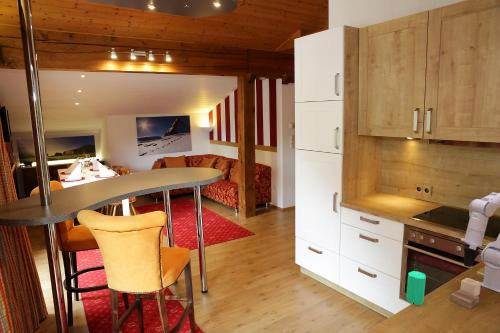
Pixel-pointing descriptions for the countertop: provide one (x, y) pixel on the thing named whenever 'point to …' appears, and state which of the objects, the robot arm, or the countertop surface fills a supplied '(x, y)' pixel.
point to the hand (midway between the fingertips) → (466, 264)
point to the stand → (464, 299)
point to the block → (470, 286)
